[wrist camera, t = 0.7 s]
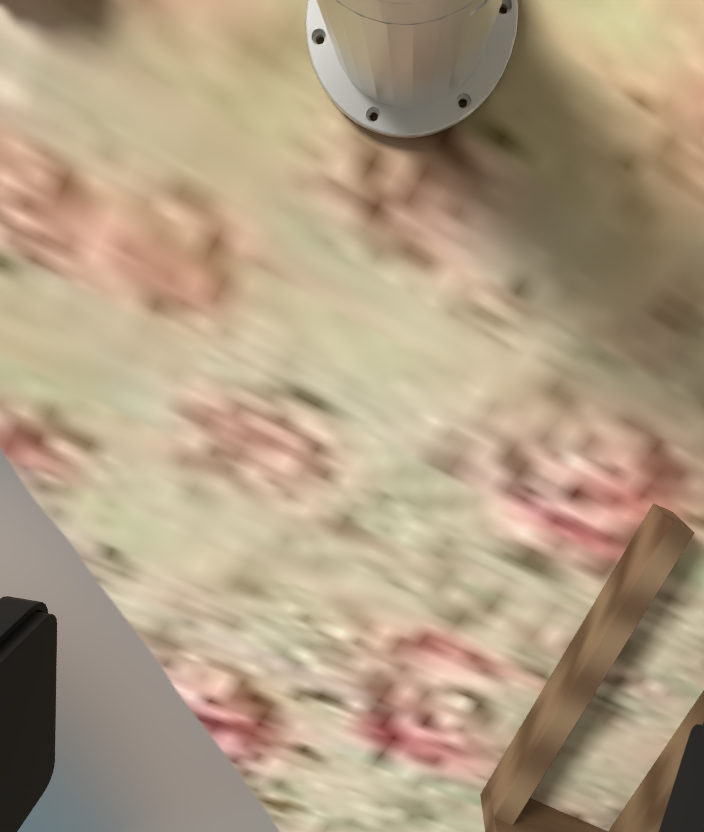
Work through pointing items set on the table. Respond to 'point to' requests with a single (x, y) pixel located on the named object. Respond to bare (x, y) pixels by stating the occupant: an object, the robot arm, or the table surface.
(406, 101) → the robot arm
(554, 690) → the U-rest
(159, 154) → the table surface
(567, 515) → the table surface
